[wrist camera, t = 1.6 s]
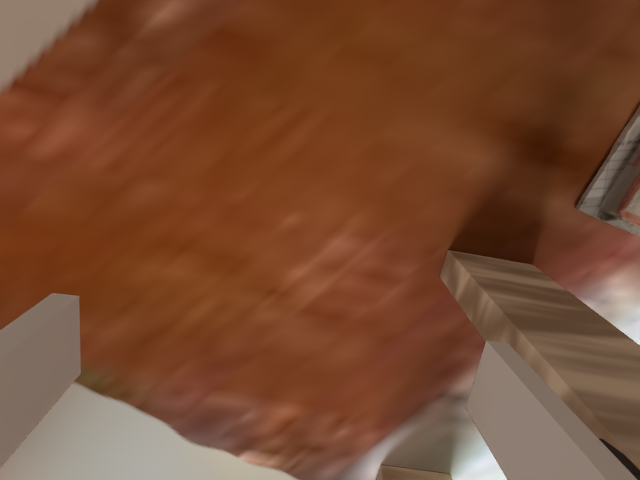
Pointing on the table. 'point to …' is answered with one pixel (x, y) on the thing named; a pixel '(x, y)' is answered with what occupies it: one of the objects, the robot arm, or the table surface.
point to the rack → (549, 346)
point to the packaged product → (618, 183)
